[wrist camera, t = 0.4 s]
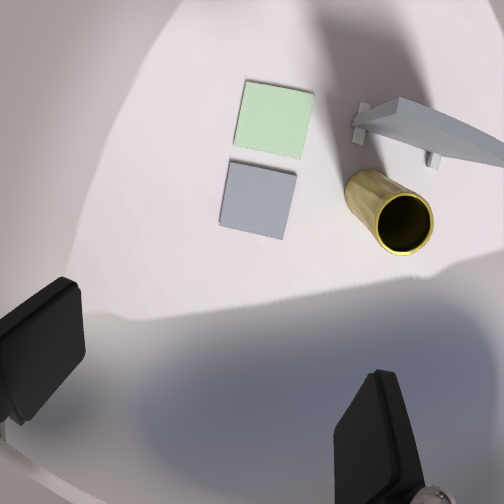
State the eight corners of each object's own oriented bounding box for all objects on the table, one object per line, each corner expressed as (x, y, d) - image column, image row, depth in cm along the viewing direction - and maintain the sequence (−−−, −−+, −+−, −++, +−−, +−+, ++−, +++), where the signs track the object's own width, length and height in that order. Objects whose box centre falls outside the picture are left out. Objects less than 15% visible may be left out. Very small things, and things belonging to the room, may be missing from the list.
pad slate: (231, 161, 37) (230, 162, 37) (297, 175, 37) (297, 176, 36) (220, 224, 40) (219, 225, 40) (282, 238, 39) (282, 240, 39)
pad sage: (247, 82, 34) (246, 81, 33) (314, 95, 33) (314, 94, 33) (234, 145, 36) (233, 145, 36) (300, 159, 36) (300, 159, 35)
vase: (334, 200, 37) (353, 233, 24) (363, 159, 35) (399, 169, 21) (373, 228, 37) (408, 274, 24) (402, 189, 35) (452, 216, 22)
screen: (356, 101, 32) (403, 69, 16) (445, 132, 32) (535, 136, 15) (348, 141, 34) (390, 141, 17) (436, 170, 33) (522, 197, 17)
